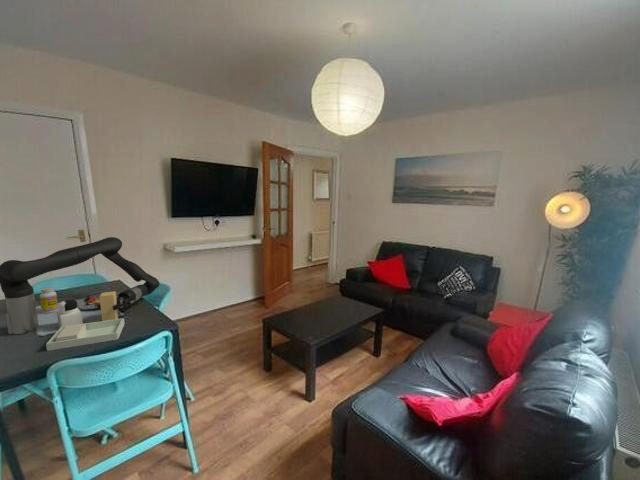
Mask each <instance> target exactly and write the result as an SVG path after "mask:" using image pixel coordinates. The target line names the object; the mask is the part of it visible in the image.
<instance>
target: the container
mask: <svg viewBox="0 0 640 480" xmlns="http://www.w3.org/2000/svg"><path fill="white" fill-rule="evenodd" d="M77 302H78V301H77V300H75V299H67V300H63V301H61V302H59V303H58V310H59V311H56V315H57V324H58V327H59V328H60V327H63V326H68V325H75V324H83V323H84V322H83V317H82V316H83V315H82V311H81V309H80V308H78V306H77Z"/></svg>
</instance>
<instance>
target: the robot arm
mask: <svg viewBox="0 0 640 480" xmlns="http://www.w3.org/2000/svg"><path fill="white" fill-rule="evenodd" d="M122 247H123V241H122V240H121V239H120V238H118V237H114V236H111V237H106V238H103V239H100V240H97V241H93V242H90V243H86V244H81V245H76V246H73V247H68V248H64V249H61V250H60V249H59V250H58V251H55V252H53V253H51V254H49V255H47V256H45V257H41V258H38V259H31V260H26V261H24V260H23V261H22V260H18V259H10V260H5V261H4V262H3V263H1V264H0V289H1V292H3V294H4V298H5V305H6V310H7V313H6V314H5V320H6V326H7V332H8V333H7V334H8V335H23V334H26V333H29V331H31V330H34V329H36V328H38V327H39V325H40V324H39V318H38V311H37V305H36V304H37V303H36V298H35V293H34V287H33V285H31V284H30V283H29V280H32V279H33V278H36V277H39V276H41V275H44V274H46V273H50V272H54V271H59V270H62V269H65V268H69V267H73V266H77V265H80V264H82V263H84V262H86V261H88V260H90V259H92V258H94V257H96V256H98V255H100V254H101V255H102V256H103V257H104V258H106V259H107V260H108V261H110V262H112V263H113V264H114V265H116V266H117V267H119V268H120V269H121V270H123V272H125V273H126V274H128V276H129V277H131V279H133V280H134V281H135V282H141V281H144V283H142V284H137V285H135V286H133V287H130V288H128V289H126V290H124V291H120V293H119V295H118V296H117V297H116V300H117V304H116V305H114V306H113V310H116V309H117V310H118V309H120V308H127V307H128V308H129V306H131V305H133V304H134V303H135V302H136V301H138V300H140V298H143V297H145V296H148V295H150V294H153V292H154V291H155V290H157V289H158V288H159V286H160V281H159V280H158V278H157V277H155V276H153V275H151V274H150V273H147V272H146V271H145V270H143V268H142V267H141V266H139V265H138V264H137V263H135V262H133V261H131V260H128V259H126V258H124V257H123V256H122V255H121V253H119V251H120V250H121V249H122ZM96 309H97V310H101V306H100V304H99V305H97V308H96Z"/></svg>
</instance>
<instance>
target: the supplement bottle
mask: <svg viewBox="0 0 640 480" xmlns="http://www.w3.org/2000/svg"><path fill="white" fill-rule="evenodd" d="M40 289H41V290H40V291H41V293H40V294H39V303H40V310H41V313H43V314H51V313H55V312H58V310H59V303H58V295H57V292H56V291H54V287H53V286H48V287H47V286H46V287H43V288H40Z"/></svg>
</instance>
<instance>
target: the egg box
mask: <svg viewBox="0 0 640 480" xmlns="http://www.w3.org/2000/svg"><path fill="white" fill-rule="evenodd" d="M85 323H86V322H85ZM85 323H84V322H83V324H75V325H68V326H66V327H65V328H64V329H63V330H62V331H61V333H60V334H59V335H58V336H57V337H56V342H57V341H63V340H70V339H76V338H82V337H83V336H84V334H85V333H86V325H85Z"/></svg>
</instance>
